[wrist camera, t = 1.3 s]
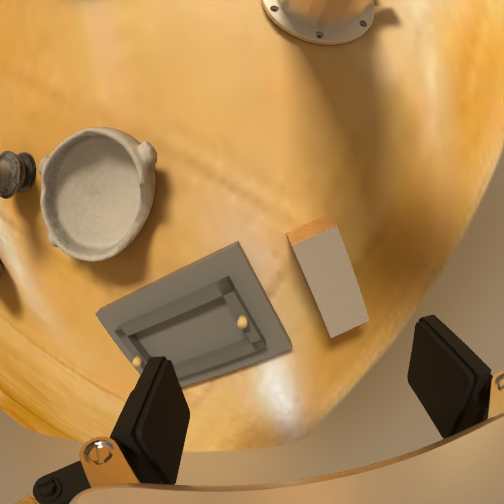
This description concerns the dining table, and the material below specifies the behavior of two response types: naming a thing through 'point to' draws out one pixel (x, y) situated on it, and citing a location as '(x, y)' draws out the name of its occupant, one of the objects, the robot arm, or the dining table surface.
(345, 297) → the aluminium bar
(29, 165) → the dark grey chess piece
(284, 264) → the dining table surface
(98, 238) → the dish
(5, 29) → the dining table surface
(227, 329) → the switch frame
